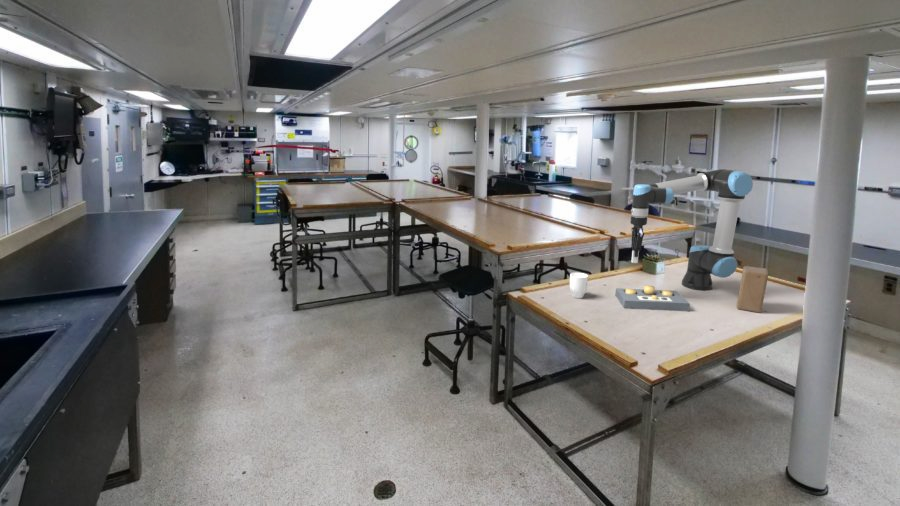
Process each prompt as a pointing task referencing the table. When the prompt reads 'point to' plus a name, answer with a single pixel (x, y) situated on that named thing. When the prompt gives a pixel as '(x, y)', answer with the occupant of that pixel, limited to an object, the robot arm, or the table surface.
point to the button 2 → (667, 293)
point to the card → (654, 298)
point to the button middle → (649, 290)
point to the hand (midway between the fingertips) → (634, 262)
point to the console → (634, 303)
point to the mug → (578, 284)
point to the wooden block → (752, 289)
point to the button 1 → (630, 291)
